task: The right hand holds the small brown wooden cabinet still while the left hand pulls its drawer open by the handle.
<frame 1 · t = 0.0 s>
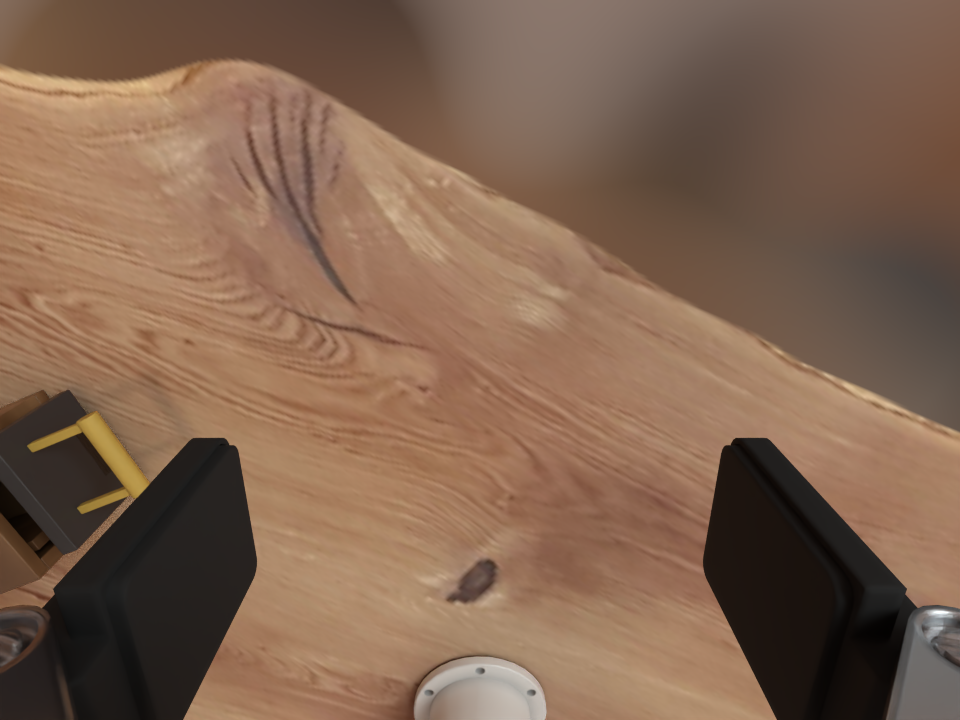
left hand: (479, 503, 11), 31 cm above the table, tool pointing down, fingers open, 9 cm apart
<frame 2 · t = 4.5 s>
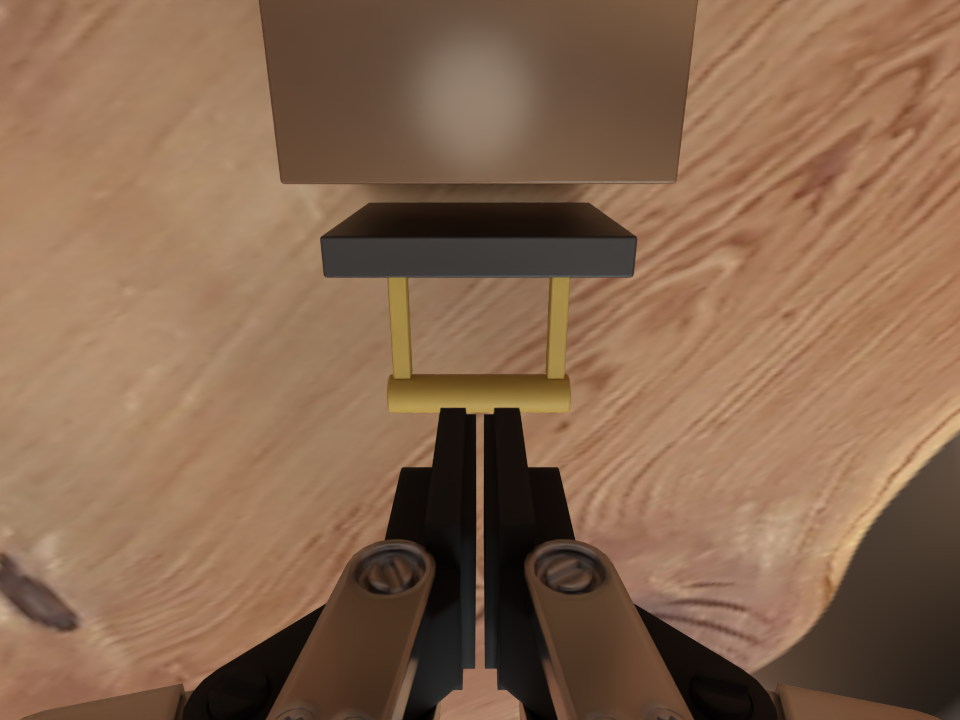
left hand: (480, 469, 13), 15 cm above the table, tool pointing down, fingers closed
drawer: (478, 43, 18), point 5 cm above the table, slide at 1.5 cm
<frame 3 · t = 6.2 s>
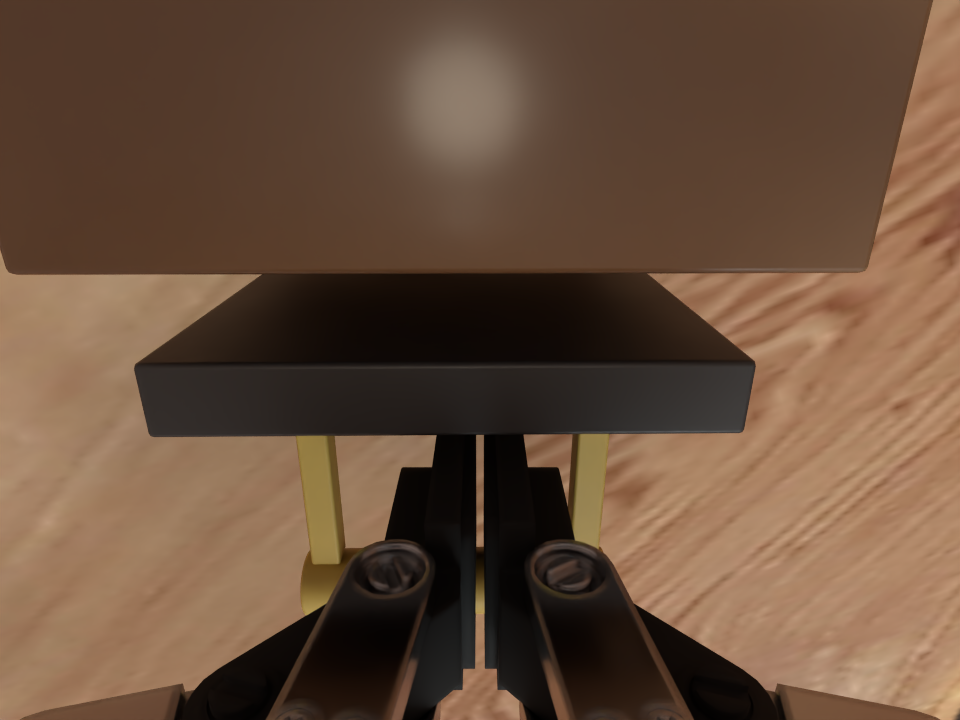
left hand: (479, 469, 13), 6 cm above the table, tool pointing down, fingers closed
when the right hand's fingers open (5 cm above the table, at t = 9.1 s): cabinet stays where it is, on the table.
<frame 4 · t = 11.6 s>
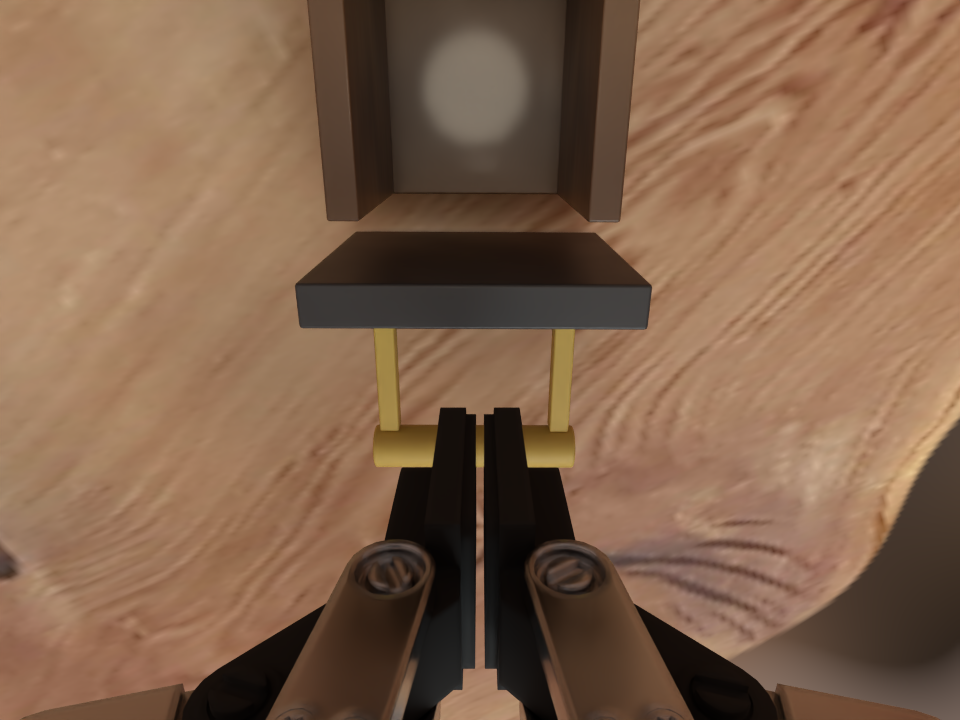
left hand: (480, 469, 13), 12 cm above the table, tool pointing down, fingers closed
drawer: (475, 64, 16), point 5 cm above the table, slide at 8.1 cm
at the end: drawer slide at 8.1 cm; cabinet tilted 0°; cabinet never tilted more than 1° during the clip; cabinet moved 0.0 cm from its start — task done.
